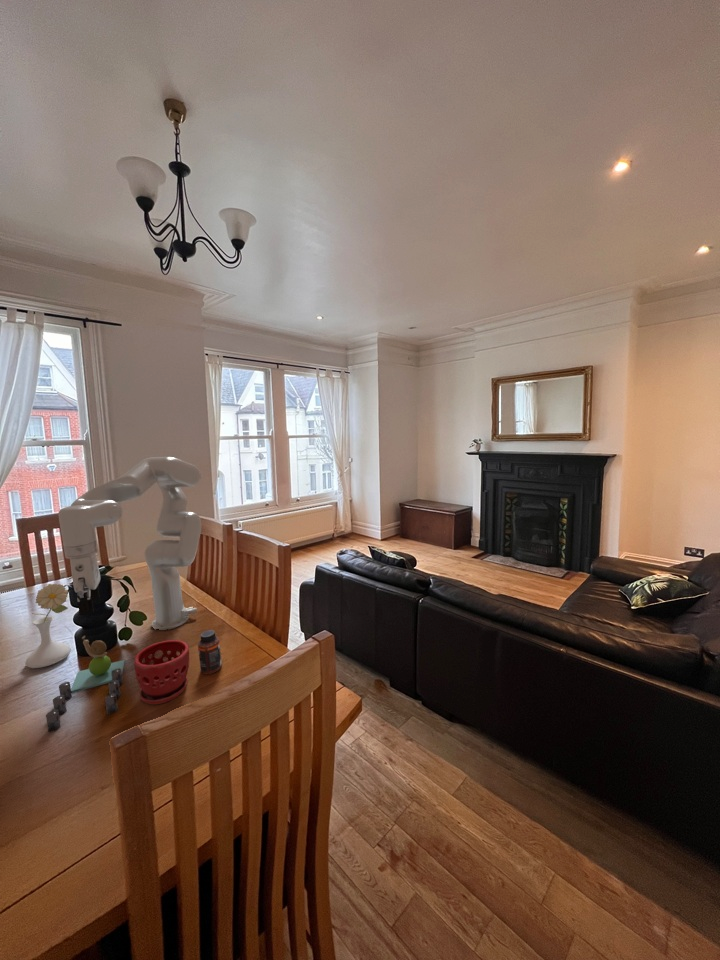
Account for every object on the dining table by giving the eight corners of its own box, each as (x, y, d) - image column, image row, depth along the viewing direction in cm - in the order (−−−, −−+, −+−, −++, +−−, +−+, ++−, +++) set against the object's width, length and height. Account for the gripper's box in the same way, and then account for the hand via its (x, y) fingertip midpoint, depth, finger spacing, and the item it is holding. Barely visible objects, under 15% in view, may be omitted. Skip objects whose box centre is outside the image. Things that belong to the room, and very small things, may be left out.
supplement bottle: (226, 664, 117) (222, 629, 115) (212, 676, 111) (209, 640, 110) (210, 661, 119) (206, 626, 117) (196, 673, 113) (192, 637, 111)
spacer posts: (123, 680, 111) (121, 667, 111) (117, 712, 98) (115, 697, 98) (62, 697, 105) (60, 683, 104) (47, 733, 92) (44, 718, 92)
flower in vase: (20, 676, 115) (7, 597, 112) (32, 657, 125) (19, 584, 122) (74, 662, 121) (62, 587, 118) (80, 645, 131) (70, 575, 128)
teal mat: (124, 661, 120) (124, 659, 120) (120, 679, 112) (120, 677, 111) (78, 673, 115) (77, 671, 115) (70, 693, 106) (70, 691, 106)
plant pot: (157, 716, 96) (151, 672, 95) (129, 698, 103) (123, 657, 102) (202, 685, 107) (198, 645, 106) (174, 671, 114) (170, 634, 113)
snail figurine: (93, 669, 116) (88, 631, 115) (115, 667, 117) (110, 630, 115) (82, 680, 111) (76, 641, 109) (105, 678, 111) (100, 639, 110)
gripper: (91, 555, 102) (100, 615, 105) (101, 539, 118) (109, 592, 120) (56, 561, 99) (67, 623, 102) (71, 543, 114) (80, 597, 117)
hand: (90, 606), depth 111 cm, fingers open, 9 cm apart
